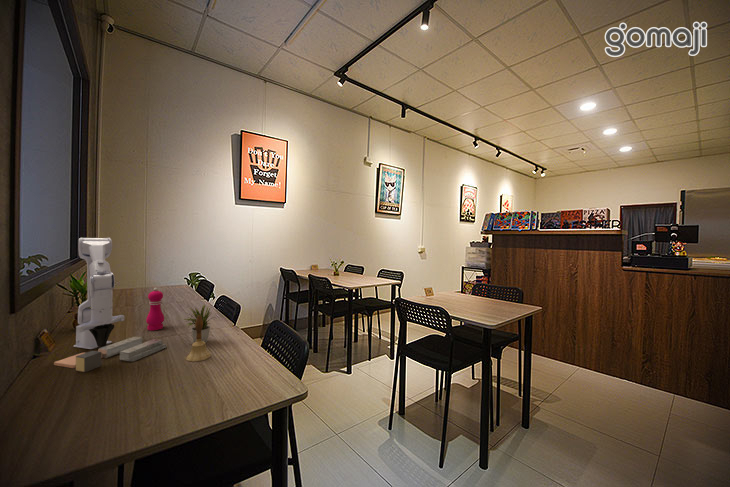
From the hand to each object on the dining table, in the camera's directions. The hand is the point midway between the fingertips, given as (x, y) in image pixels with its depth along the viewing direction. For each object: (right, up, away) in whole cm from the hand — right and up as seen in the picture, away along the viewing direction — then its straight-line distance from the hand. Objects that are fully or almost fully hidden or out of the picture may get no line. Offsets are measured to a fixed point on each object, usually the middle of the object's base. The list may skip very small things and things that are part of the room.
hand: (101, 346), depth 106 cm
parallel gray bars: (+2, -6, +11) cm, 13 cm away
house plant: (+21, -6, +24) cm, 33 cm away
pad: (-9, -6, +1) cm, 11 cm away
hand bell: (+30, -7, +8) cm, 32 cm away
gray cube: (-1, -6, -4) cm, 8 cm away
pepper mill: (-8, -5, +39) cm, 40 cm away
